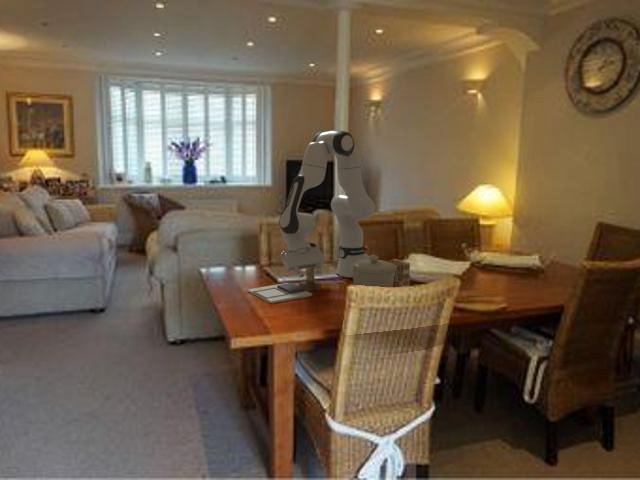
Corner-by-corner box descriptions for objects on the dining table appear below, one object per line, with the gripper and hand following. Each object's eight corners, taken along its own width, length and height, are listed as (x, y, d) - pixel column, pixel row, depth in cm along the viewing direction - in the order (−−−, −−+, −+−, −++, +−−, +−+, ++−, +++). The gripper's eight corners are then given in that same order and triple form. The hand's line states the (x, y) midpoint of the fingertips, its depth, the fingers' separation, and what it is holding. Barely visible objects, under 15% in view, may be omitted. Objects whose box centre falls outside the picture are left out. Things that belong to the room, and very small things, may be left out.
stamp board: (286, 285, 240) (286, 280, 239) (311, 295, 224) (312, 290, 223) (247, 291, 228) (247, 286, 228) (270, 303, 212) (270, 298, 212)
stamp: (312, 285, 240) (312, 264, 238) (321, 289, 234) (321, 267, 232) (299, 287, 236) (299, 266, 234) (308, 291, 230) (308, 269, 228)
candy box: (409, 298, 223) (410, 262, 220) (401, 299, 221) (403, 263, 218) (395, 292, 230) (396, 258, 227) (387, 294, 228) (389, 259, 225)
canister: (345, 311, 204) (346, 258, 200) (354, 298, 221) (356, 249, 217) (391, 316, 200) (394, 261, 196) (397, 302, 217) (400, 252, 213)
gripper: (281, 248, 231) (293, 274, 225) (319, 243, 243) (332, 268, 237) (276, 256, 236) (288, 282, 230) (314, 251, 247) (326, 275, 241)
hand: (310, 275), depth 234 cm, fingers open, 8 cm apart
